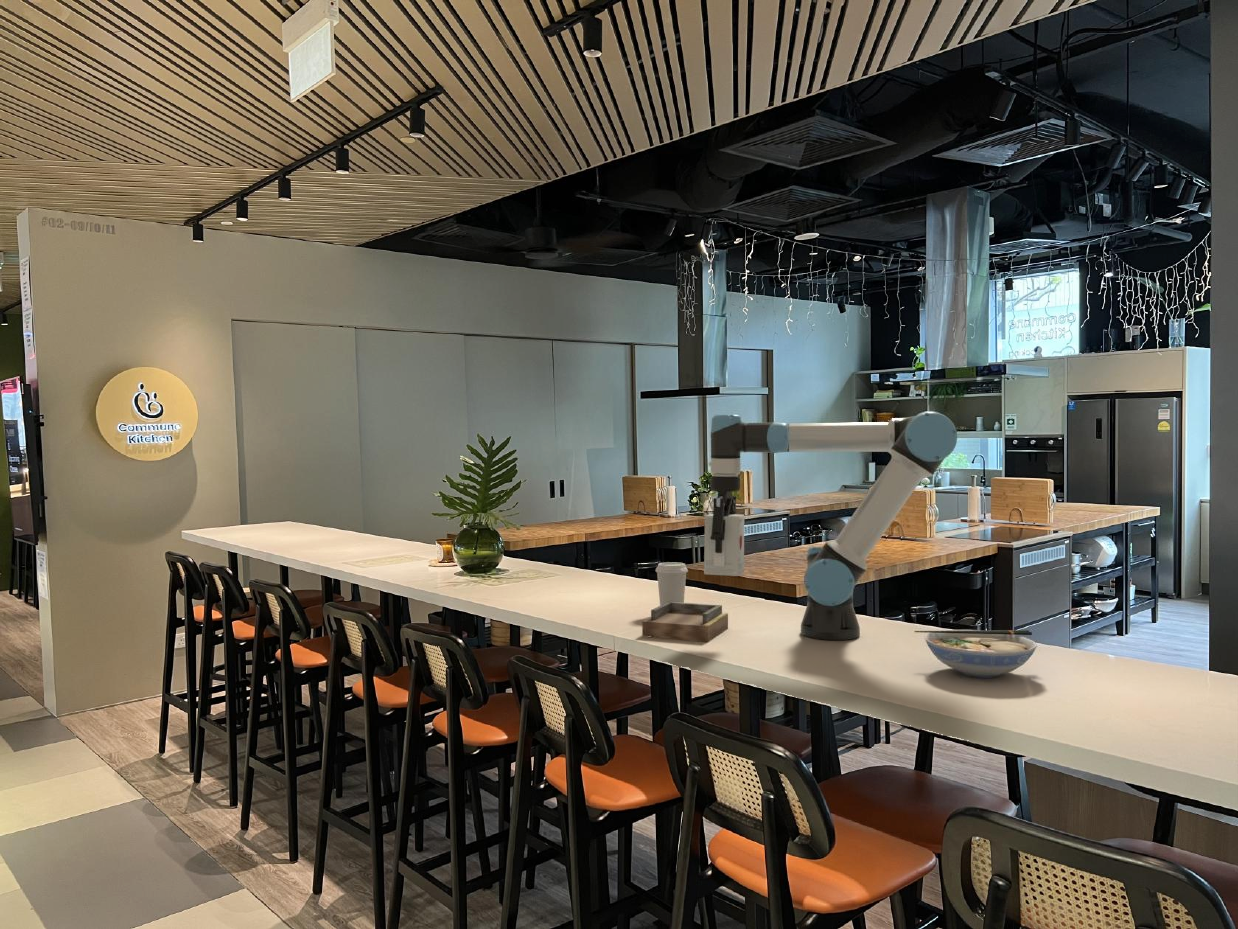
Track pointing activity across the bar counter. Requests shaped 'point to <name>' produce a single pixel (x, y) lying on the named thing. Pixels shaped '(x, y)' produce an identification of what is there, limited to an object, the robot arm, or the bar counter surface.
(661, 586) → the coffee cup
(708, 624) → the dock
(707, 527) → the supplement box
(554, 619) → the bar counter surface
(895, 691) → the bar counter surface
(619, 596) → the bar counter surface
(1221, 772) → the bar counter surface
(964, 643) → the ramen bowl
